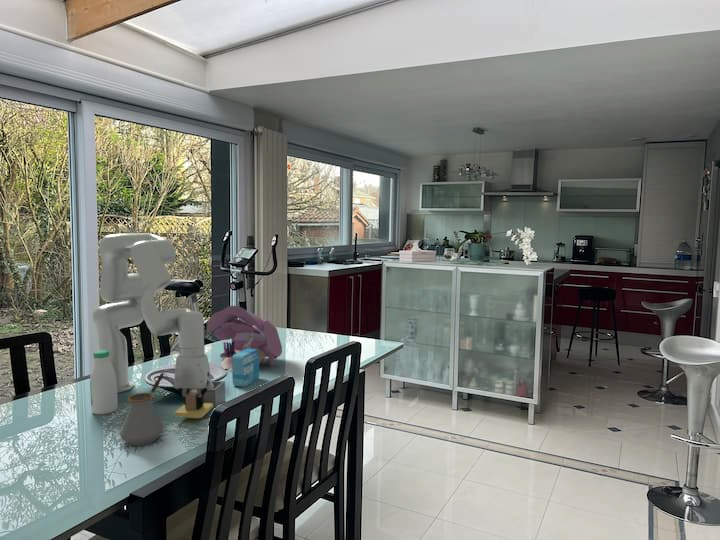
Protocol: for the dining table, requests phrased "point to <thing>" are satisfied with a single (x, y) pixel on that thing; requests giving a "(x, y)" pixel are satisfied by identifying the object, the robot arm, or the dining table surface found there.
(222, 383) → the box
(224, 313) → the pink curved piece
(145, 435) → the coffee pot
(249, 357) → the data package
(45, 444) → the dining table surface
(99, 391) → the milk bottle
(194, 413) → the lid
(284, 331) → the dining table surface
